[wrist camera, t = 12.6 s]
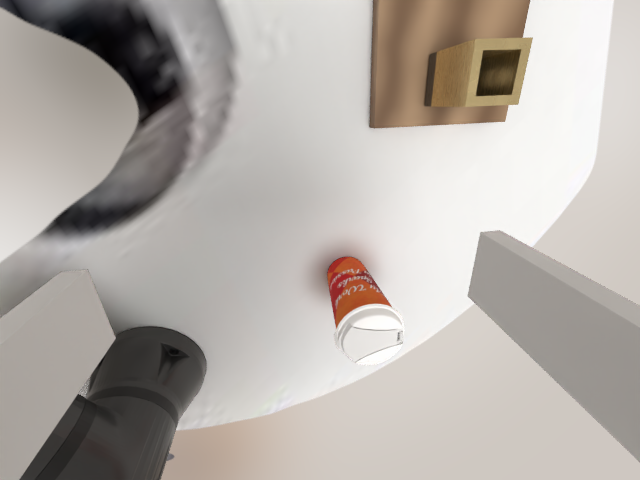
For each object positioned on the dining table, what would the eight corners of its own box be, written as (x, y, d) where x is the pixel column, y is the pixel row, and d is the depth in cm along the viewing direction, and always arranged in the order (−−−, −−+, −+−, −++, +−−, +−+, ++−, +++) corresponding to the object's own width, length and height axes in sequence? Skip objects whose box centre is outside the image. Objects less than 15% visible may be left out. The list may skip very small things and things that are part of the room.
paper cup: (370, 245, 42) (409, 306, 30) (372, 290, 46) (408, 361, 33) (316, 254, 42) (332, 319, 29) (321, 299, 45) (339, 374, 32)
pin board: (369, 127, 36) (389, 131, 29) (375, -77, 28) (403, -129, 22) (493, 120, 37) (537, 123, 31) (531, -74, 30) (598, -121, 23)
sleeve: (424, 106, 33) (465, 106, 26) (429, 54, 31) (475, 38, 24) (466, 104, 34) (518, 104, 26) (474, 52, 32) (532, 37, 24)
